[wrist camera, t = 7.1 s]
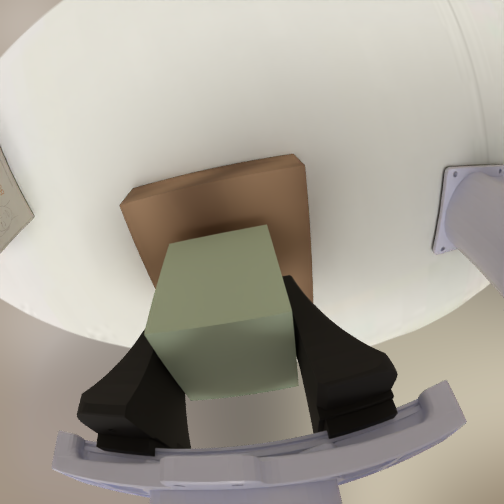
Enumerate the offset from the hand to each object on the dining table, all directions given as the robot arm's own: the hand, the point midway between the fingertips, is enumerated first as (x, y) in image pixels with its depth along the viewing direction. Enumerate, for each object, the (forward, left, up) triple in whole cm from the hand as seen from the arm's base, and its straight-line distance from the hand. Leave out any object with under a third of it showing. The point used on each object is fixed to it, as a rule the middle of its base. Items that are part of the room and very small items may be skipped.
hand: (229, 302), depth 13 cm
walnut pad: (0, 0, -6) cm, 6 cm away
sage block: (0, 0, -2) cm, 2 cm away
